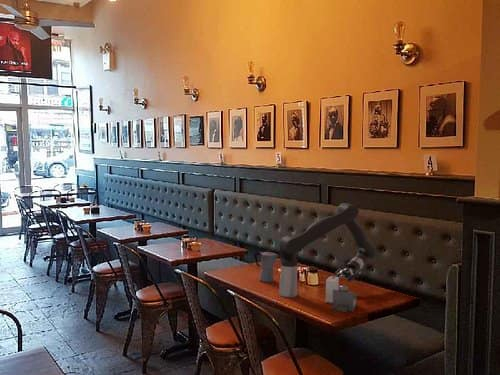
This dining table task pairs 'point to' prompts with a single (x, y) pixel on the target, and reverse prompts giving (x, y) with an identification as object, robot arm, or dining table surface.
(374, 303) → the dining table surface
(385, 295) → the dining table surface
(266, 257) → the moka pot
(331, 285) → the block
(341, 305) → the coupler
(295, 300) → the dining table surface
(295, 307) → the dining table surface
